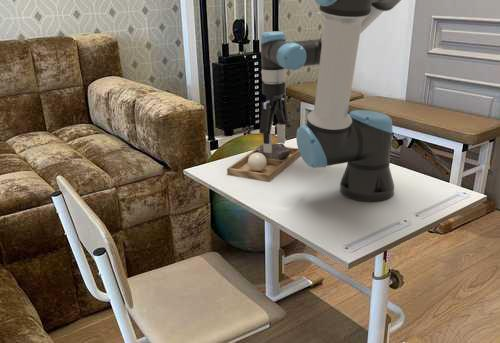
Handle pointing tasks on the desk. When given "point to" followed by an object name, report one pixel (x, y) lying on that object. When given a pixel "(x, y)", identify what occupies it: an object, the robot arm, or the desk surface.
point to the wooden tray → (268, 172)
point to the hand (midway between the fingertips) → (274, 147)
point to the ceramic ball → (257, 161)
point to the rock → (275, 151)
